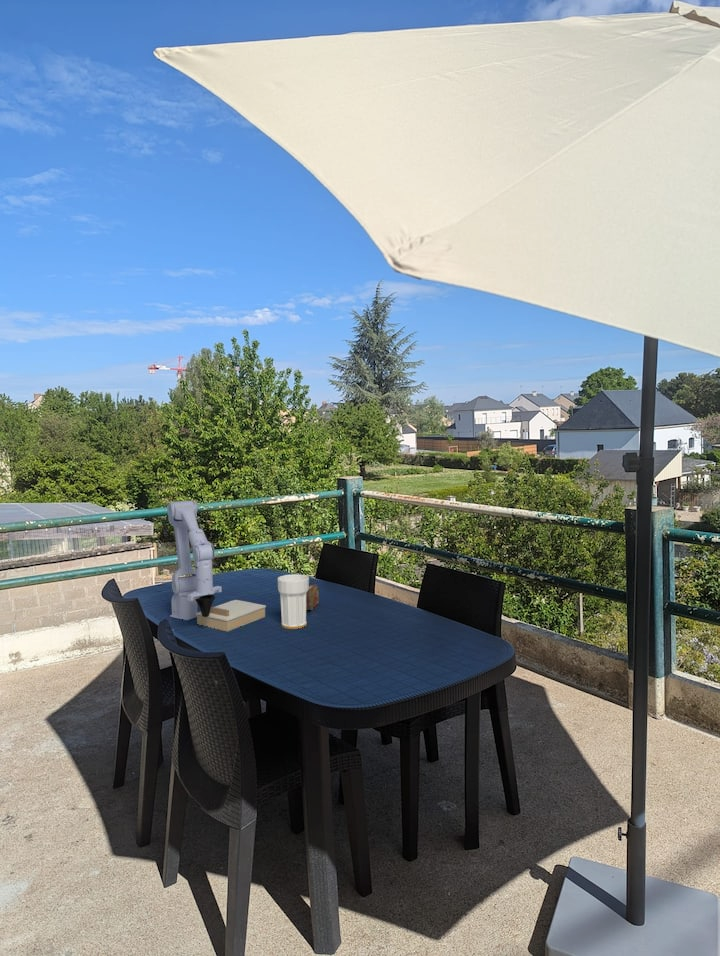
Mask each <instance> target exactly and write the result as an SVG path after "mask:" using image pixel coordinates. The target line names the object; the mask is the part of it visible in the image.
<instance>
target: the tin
mask: <svg viewBox="0 0 720 956" xmlns="http://www.w3.org/2000/svg"><path fill="white" fill-rule="evenodd" d="M319 602H320V589H319V585H318V584H316V583H315V584H310V585H309V590H308V591H307V592H306V611H307V610H311V611H312V610H313V608H314V607H315V606H316V605H317V604H318V605H319ZM318 605H317V606H318ZM317 606H316V607H317ZM316 607H315V608H316ZM315 608H314V609H315ZM311 611H310V612H311ZM313 611H314V610H313Z"/></svg>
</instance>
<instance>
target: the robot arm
mask: <svg viewBox="0 0 720 956" xmlns="http://www.w3.org/2000/svg"><path fill="white" fill-rule="evenodd" d="M166 510H167V518H168V519H167V520H168V523H169V524H170V525H172V526H173V530H174V538H175V539H174V540H175V546H176V547H175V548H176V555H177V556H176V557H177V565H178V568H177V569H176V570H175V571H174V572H173V574H172V575H171V589H172V592H173V595H172V596H171V614H170V615H169V617H170V618H173V619H178V620H182V619H183V621H190V620H192V619H197V615H196V613H197V612H198V607H199V610H200V611H201V613H202V616H203V617H208V616H209V613H210V609H211V607H213V606H212V605H213V603H214V601H215V599H216V595H214V594H217V593H222V592H223V591H222V590H223V589H222V586H221V585H215V586H214V584H213V583H214V581H213V579H214V578H213V577H214V576H213V560H214V559H215V553H216V551H215V547H214V545H213V543H211V542H210V541H208V539H207V536H206V534H205V532H204V530H203V529H202V528H199V525H198V521H197V514H198V505H197V501H195V500H194V499H192V500H180V501H178V500H177V501H169V503H168V504H167V509H166ZM190 547H191V548H192V556H191V549H190ZM191 557H192V558H193V564H194V566H195V567H193V566H192V558H191Z"/></svg>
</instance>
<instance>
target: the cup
mask: <svg viewBox="0 0 720 956" xmlns="http://www.w3.org/2000/svg"><path fill="white" fill-rule="evenodd" d="M309 584H310V577H309V576H308V575H306V574H299V573H297V574H296V573H295V574H294V573H293V574H285V575H281V576H278V577H277V591H278V592H279V595H280V596H279V597H280V611H281V613H280V614H281V627H282V628H284V629H288V630H296V629H297V630H298V628H299V629H303V628H304V626H305V627H307V624H308V623H307V610H306V592H307V591H308V590H309V586H310V585H309ZM302 627H303V628H302Z"/></svg>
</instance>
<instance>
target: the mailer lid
mask: <svg viewBox="0 0 720 956" xmlns="http://www.w3.org/2000/svg"><path fill="white" fill-rule="evenodd" d="M266 607H267V605H265V604H259V603H254V602H250V601H244V600H239V599H234V600H230V601H227V602H225V603H222V604H219V605H216V606H211V609H210V613H209V616H208V617H210V618H214V619H219V620H224V621H230V620H232V619H235V618H238V617H240V616H243V615H246V614H249V613H251V612H254V611H257V610H259V609H262V608H265V609H266ZM196 615H201V616H202V613H201V610H200V611H197V613H196Z"/></svg>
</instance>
